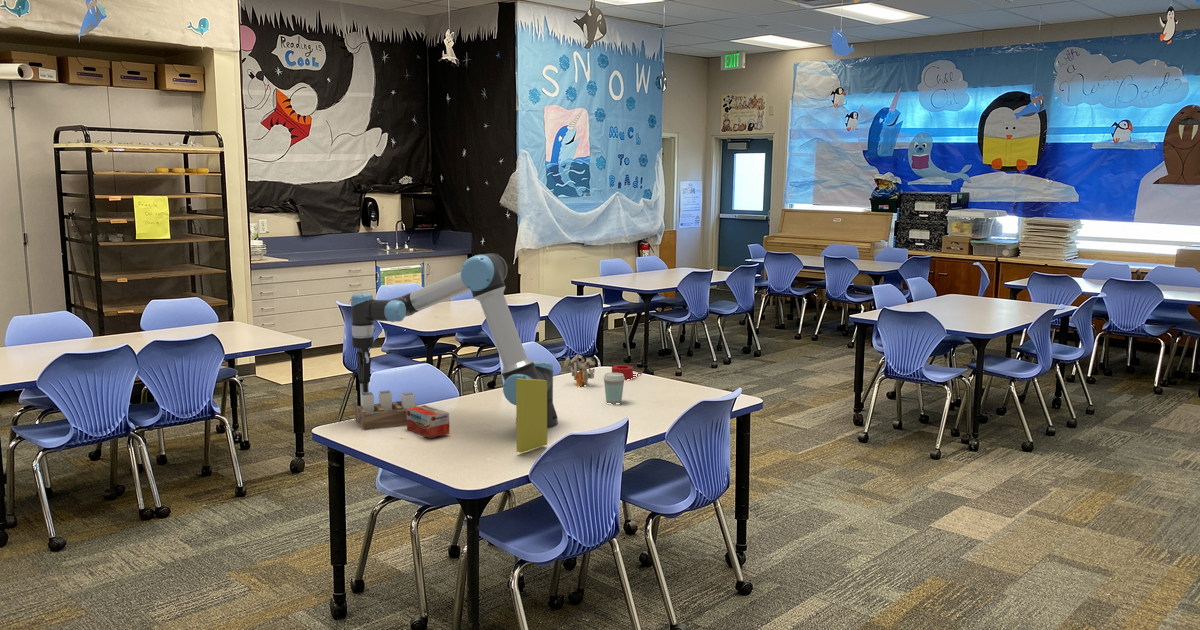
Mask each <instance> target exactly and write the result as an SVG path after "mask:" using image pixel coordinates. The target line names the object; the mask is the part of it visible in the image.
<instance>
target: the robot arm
mask: <svg viewBox="0 0 1200 630" xmlns="http://www.w3.org/2000/svg"><path fill="white" fill-rule="evenodd" d="M507 276H508V264H507V263H506V260H505V259H504V258H503V257H502V256H500V255H499V254H496V253H492V252H490V253H485V254H476V255H474V256H472V257H469V258H468V259H466V260H465V261H464V263H463V265H462V267H461V270H460V272H458V273H455V274H452V275H450V276H447V277H445V278H443V279H440V280H438V281H435V282H433V283H431V284H428V285H426V286H424V287H422V288H419V289H417V290H414V291H411V292H409V293H407V294H404V295H402V296H398V297H394V298H390V299H374V298H373V294H371V293H368V292H367V293H366V292H363V293H362V292H361V293H360V292H359V293H354V294H352V295H351V298H350V300H351V301H350V303H351V304H350V308H351V312H350V314H351V335H352V338H351V341H352V342H351V343H352V348H354V349H357V352H356V353H355V355H356V364H357V365H356V366H357V377H358V380H359V389H360V390H359V391H360V392H359V393H360V396H361V394H362V393H368V392H370V385H369V383H371V367H372V366H371V365H372V357H371V352H370V351H369V349H371V348H374V346H375V339H374V330H375V329H376V327H375V326H374V321H375V322H378V321H379V322H391V323H395V322H396V323H397V322H398V323H399V322H402V321H404V319H405V318H406V317H409V316H410V317H411V316H412V315H415V314H416V313H418V312H421V311H423V310H425V309H428V308H430V307H432V306H436V305H438V304H441V303H442V302H445V301H448V300H450V299H453V298H454V297H457V296H461V295H463V294H465V293H467V292H471V295H472V298H473V299H475V300H476V301H478V302H479V304H480V305H481V308H482V311H483V314H484V317H485V320H486V322H487V325H488V328H489V330H490V333H491V336H492V339H493V341H494V344H495V347H496V350H497V353H498V356H499V358H500V360H501V363H502V366H503V367H502V369H501V376H502V379H503V381H504V383H503V387H502V392H503V393H502V394H503V395H504V397H505V399H506V400H507V401H508V403H510V404H512V405H514V406H516V378H519V379H537V380H546V381H547V429H548V428H552V427H556V426H558V422H559V421H558V419H559V418H558V414H557V411H556V408H555V406H554V367H553V364H552V363H553V362H550V361H542V360H531V359H530V358H528V357H527V354H526V352H525V349H524V347H523V343H522V341H521V338H520V336H519V332H518V329H517V327H516V325H515V322H514V319H513V316H512V313H511V311H510V308H509V305H508V303H507V300H506V297H505V293H504V292H505V289H506V284H505V282H504V281H505V279H506V278H507Z"/></svg>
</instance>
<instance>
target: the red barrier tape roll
mask: <svg viewBox="0 0 1200 630" xmlns="http://www.w3.org/2000/svg"><path fill="white" fill-rule="evenodd" d="M611 373H622V374H624V377H625V380H627V379H631V378H633V377H636V376H633V375H636V374H633V373H634V366H631V365H625V364H624V365H623V364H622V365H621V364H617V365H612V367H611ZM635 373H638V374H642V375H643V372H639V371H638V372H635ZM638 374H637V376H638ZM638 377H639V376H638ZM636 378H637V377H636Z"/></svg>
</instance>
